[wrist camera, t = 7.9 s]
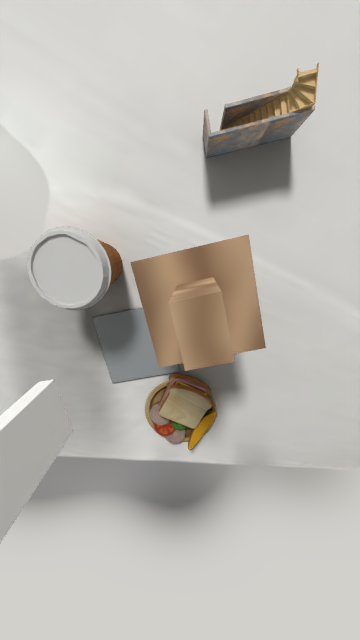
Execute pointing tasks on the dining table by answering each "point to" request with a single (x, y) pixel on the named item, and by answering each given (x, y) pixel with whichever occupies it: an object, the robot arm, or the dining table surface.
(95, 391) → the dining table surface
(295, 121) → the ruin model on sheet
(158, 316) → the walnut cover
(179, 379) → the toy sandwich meal
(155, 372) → the grey square tile
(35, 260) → the disposable coffee cup
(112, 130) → the dining table surface
